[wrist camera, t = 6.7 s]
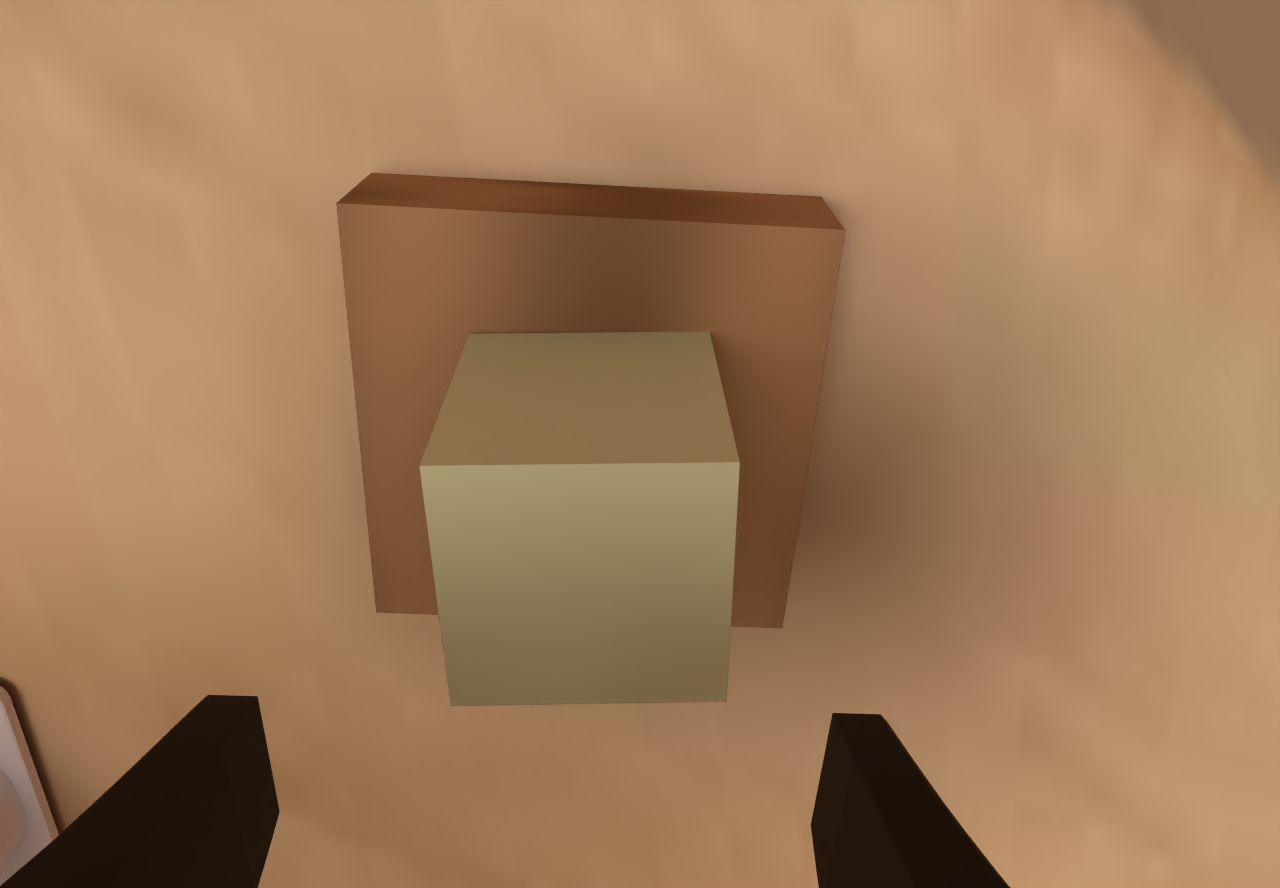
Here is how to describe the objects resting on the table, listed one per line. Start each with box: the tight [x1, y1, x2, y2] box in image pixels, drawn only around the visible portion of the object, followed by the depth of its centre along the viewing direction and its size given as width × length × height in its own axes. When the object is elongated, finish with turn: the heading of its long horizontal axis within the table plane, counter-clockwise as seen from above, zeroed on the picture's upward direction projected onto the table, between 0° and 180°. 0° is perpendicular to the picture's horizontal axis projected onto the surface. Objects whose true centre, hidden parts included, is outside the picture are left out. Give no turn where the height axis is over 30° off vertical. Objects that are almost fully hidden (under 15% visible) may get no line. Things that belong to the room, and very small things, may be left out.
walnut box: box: [336, 173, 845, 628], centre depth 20 cm, size 9×9×3 cm
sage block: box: [419, 331, 740, 706], centre depth 16 cm, size 4×4×5 cm
